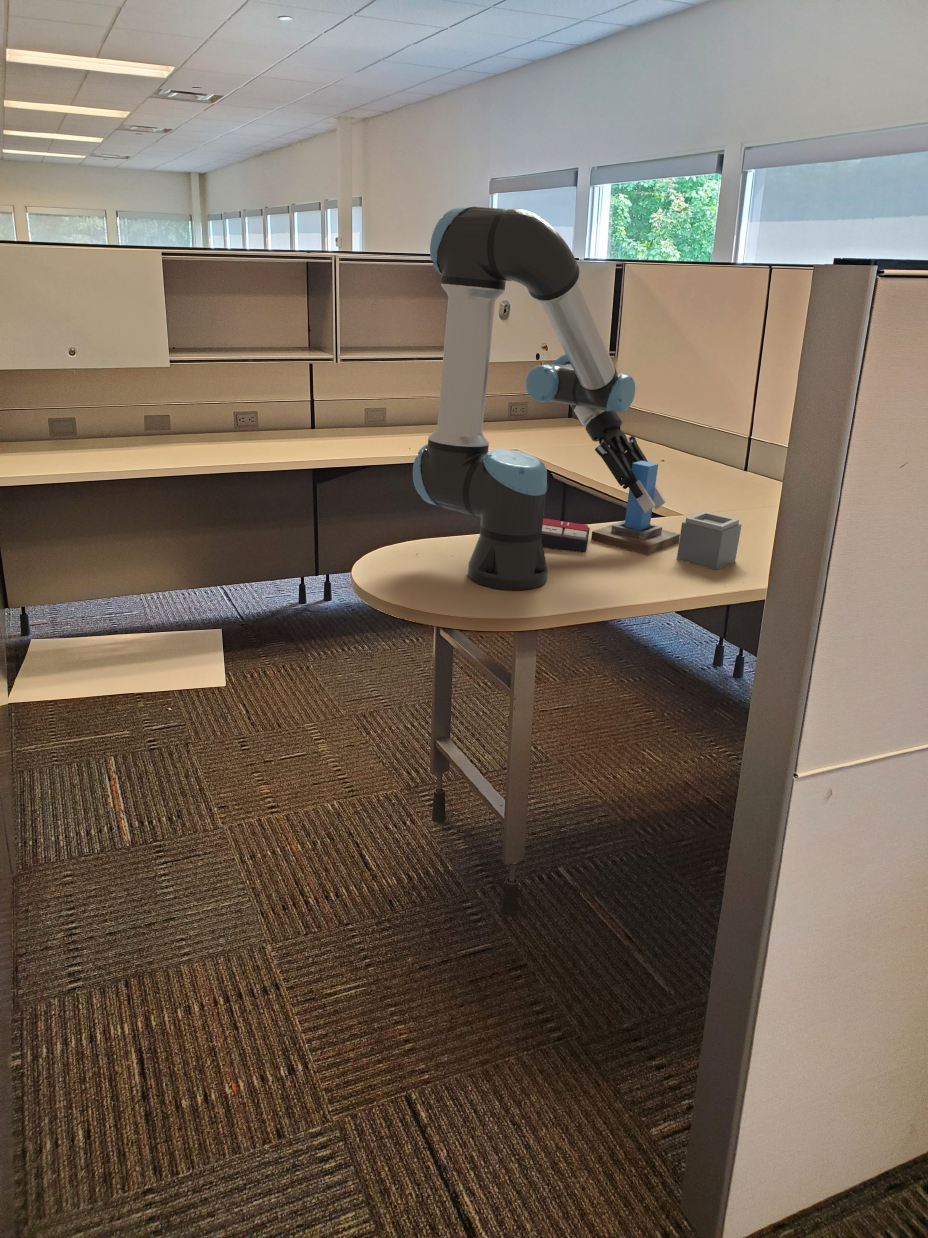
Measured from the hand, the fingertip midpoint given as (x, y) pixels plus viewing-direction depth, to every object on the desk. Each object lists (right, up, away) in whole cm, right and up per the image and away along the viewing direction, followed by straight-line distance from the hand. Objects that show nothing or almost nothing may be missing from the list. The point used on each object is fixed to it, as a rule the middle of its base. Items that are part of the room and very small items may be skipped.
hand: (655, 507), depth 201 cm
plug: (-3, -4, +4) cm, 6 cm away
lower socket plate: (-3, -7, +5) cm, 9 cm away
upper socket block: (+10, -12, -4) cm, 16 cm away
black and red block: (-22, -8, +2) cm, 23 cm away
